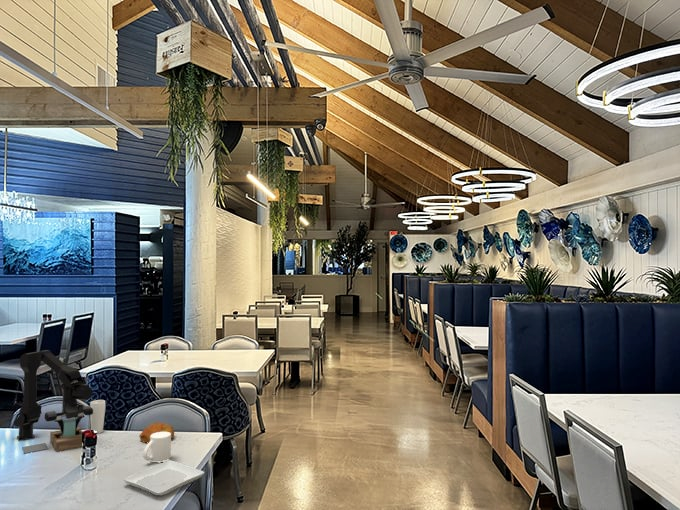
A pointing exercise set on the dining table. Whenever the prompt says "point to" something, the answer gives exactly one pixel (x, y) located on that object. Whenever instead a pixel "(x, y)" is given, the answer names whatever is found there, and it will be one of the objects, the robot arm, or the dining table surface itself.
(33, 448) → the mat
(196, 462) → the dining table surface
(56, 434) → the crate
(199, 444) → the dining table surface
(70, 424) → the block
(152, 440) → the mug
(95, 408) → the drinking glass
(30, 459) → the dining table surface
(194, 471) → the salad plate
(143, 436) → the croissant
